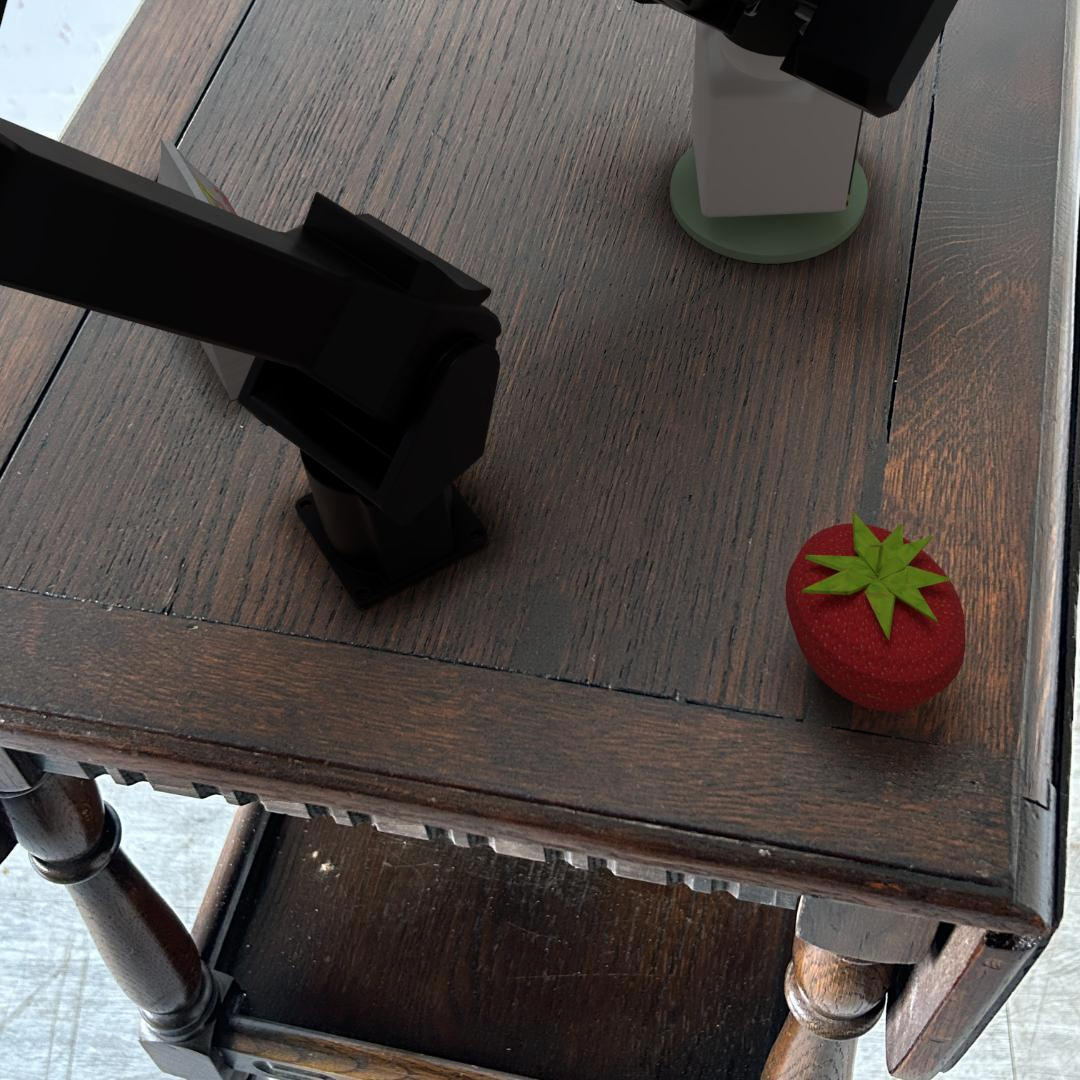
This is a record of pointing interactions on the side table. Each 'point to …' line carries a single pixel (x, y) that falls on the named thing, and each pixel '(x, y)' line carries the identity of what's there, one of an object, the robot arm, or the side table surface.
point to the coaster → (764, 223)
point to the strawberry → (875, 616)
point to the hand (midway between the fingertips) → (799, 15)
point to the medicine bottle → (766, 124)
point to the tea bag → (195, 184)
